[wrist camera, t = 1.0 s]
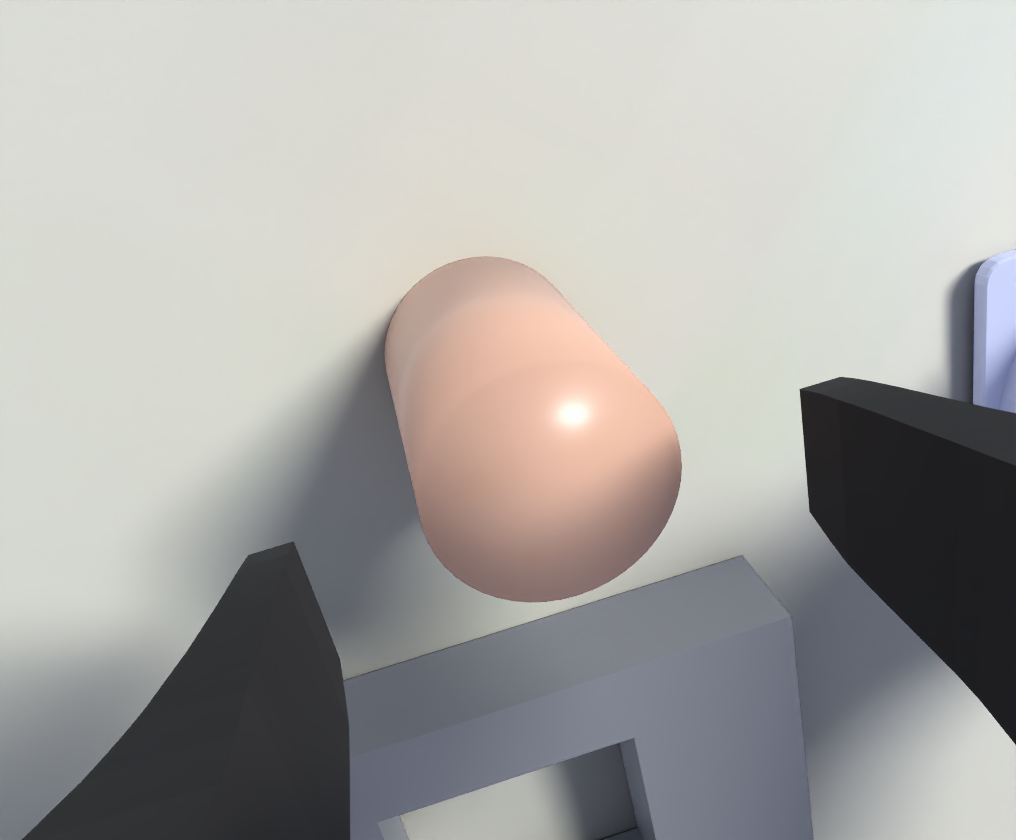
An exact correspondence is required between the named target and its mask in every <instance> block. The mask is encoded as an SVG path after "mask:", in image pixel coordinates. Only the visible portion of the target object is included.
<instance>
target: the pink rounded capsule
mask: <svg viewBox="0 0 1016 840" xmlns="http://www.w3.org/2000/svg"><path fill="white" fill-rule="evenodd" d="M384 356H385V367H386V372H387V376H388V381H389V385H390V389H391V394H392V398H393V403H394V407H395V411H396V416H397V420H398V425H399V429H400V433H401V438H402V442H403V447H404V451H405V455H406V460H407V464H408V469H409V473H410V477H411V482H412V486H413V491H414V495H415V499H416V504H417V508H418V513H419V517H420V521H421V526H422V529H423V532H424V534H425V537H426V539H427V542H428V544H429V545H430V547H431V549H432V550H433V552H434V554H435V555H436V557H437V558H438V559H439V560H440V562H441V563H442V564H443V565H444V566H445V567H446V568H447V569H448V570H449V571H450V572H451V573H452V574H453V575H454V576H455V577H457V578H458V579H460V580H461V581H462V582H464V583H465V584H467V585H468V586H470V587H472V588H474V589H476V590H478V591H480V592H482V593H485V594H488V595H491V596H494V597H497V598H501V599H506V600H511V601H520V602H547V601H554V600H561V599H565V598H569V597H573V596H577V595H580V594H583V593H585V592H588V591H591V590H593V589H595V588H597V587H599V586H601V585H603V584H605V583H607V582H609V581H611V580H612V579H614V578H615V577H617V576H619V575H620V574H622V573H623V572H624V571H626V570H627V569H628V568H629V567H631V566H632V565H633V564H634V563H635V562H636V561H638V560H639V559H640V558H641V557H642V556H643V555H644V554H645V553H646V552H647V550H648V549H649V548H650V547H651V546H652V544H653V543H654V542H655V541H656V539H657V538H658V536H659V535H660V533H661V532H662V530H663V529H664V527H665V525H666V524H667V521H668V519H669V517H670V515H671V513H672V511H673V508H674V505H675V502H676V499H677V496H678V492H679V487H680V482H681V469H682V463H681V450H680V446H679V441H678V437H677V434H676V431H675V429H674V426H673V424H672V421H671V419H670V418H669V416H668V414H667V413H666V411H665V409H664V408H663V406H662V405H661V404H660V403H659V401H658V400H657V399H656V398H655V397H654V395H653V394H652V393H651V392H650V391H649V390H648V389H647V388H646V387H645V385H644V384H643V383H642V382H641V381H640V380H639V379H638V378H637V377H636V376H635V375H634V373H633V372H632V371H631V370H630V369H629V368H628V367H627V366H626V365H625V364H624V362H623V361H622V360H621V359H620V358H619V357H618V356H617V355H616V354H615V353H614V352H613V350H612V349H611V348H610V347H609V346H608V345H607V344H606V343H605V342H604V341H603V339H602V338H601V337H600V336H599V335H598V334H597V333H596V332H595V331H594V330H593V329H592V327H591V326H590V325H589V324H588V323H587V322H586V321H585V320H584V319H583V318H582V316H581V315H580V314H579V313H578V312H577V311H576V310H575V309H574V308H573V307H572V306H571V304H570V303H569V302H568V301H567V300H566V299H565V298H564V297H563V296H562V295H561V293H560V292H559V291H558V290H557V289H556V288H555V287H554V286H553V285H552V284H551V283H550V282H549V281H548V280H547V279H546V278H545V277H544V276H542V275H541V274H539V273H538V272H536V271H535V270H533V269H532V268H530V267H528V266H526V265H524V264H521V263H518V262H515V261H512V260H509V259H504V258H498V257H473V258H467V259H463V260H458V261H455V262H452V263H449V264H447V265H444V266H442V267H440V268H438V269H436V270H434V271H433V272H431V273H430V274H428V275H427V276H425V277H424V278H423V279H421V280H420V281H419V282H418V283H417V284H416V285H415V286H413V287H412V289H411V290H410V291H409V292H408V293H407V294H406V295H405V297H404V298H403V299H402V301H401V302H400V304H399V305H398V307H397V309H396V311H395V313H394V315H393V317H392V319H391V322H390V325H389V328H388V331H387V336H386V341H385V354H384Z"/></svg>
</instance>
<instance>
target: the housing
mask: <svg viewBox="0 0 1016 840" xmlns="http://www.w3.org/2000/svg"><path fill="white" fill-rule="evenodd" d="M343 683H344V690H345V697H346V704H347V712H348V720H349V739H350V840H409V839H408V836H407V834H406V831H405V829H404V826H403V824H402V821H401V819H400V816H399V815H402V814H405V813H408V812H411V811H414V810H417V809H420V808H423V807H426V806H429V805H432V804H435V803H438V802H441V801H444V800H447V799H450V798H453V797H456V796H459V795H462V794H465V793H468V792H471V791H474V790H477V789H480V788H483V787H486V786H489V785H492V784H495V783H499V782H502V781H505V780H508V779H511V778H514V777H517V776H520V775H523V774H526V773H529V772H532V771H535V770H538V769H541V768H544V767H547V766H550V765H553V764H556V763H559V762H562V761H565V760H568V759H571V758H574V757H577V756H580V755H583V754H586V753H589V752H592V751H596V750H599V749H602V748H605V747H608V746H611V745H614V744H617V743H619V746H620V750H621V754H622V759H623V763H624V768H625V772H626V777H627V781H628V786H629V790H630V795H631V799H632V803H633V808H634V812H635V817H636V821H637V826H638V828H635V829H632V830H629V831H626V832H623V833H620V834H617V835H615V836H612V837H609V838H606V839H603V840H813V830H812V819H811V809H810V799H809V789H808V779H807V769H806V758H805V748H804V738H803V728H802V718H801V708H800V698H799V687H798V677H797V667H796V657H795V647H794V637H793V626H792V616H791V615H790V614H789V612H788V611H787V610H786V609H785V608H784V606H783V605H782V604H781V603H780V601H779V600H778V599H777V598H776V596H775V595H774V594H773V593H772V591H771V590H770V589H769V588H768V586H767V585H766V584H765V583H764V582H763V580H762V579H761V578H760V577H759V575H758V574H757V573H756V572H755V570H754V569H753V568H752V567H751V565H750V564H749V563H748V562H747V561H746V559H745V558H744V557H743V556H739V557H736V558H733V559H730V560H726V561H723V562H720V563H717V564H714V565H711V566H707V567H704V568H701V569H698V570H695V571H691V572H688V573H685V574H682V575H679V576H676V577H672V578H669V579H666V580H663V581H660V582H656V583H653V584H650V585H647V586H644V587H641V588H637V589H634V590H631V591H628V592H625V593H621V594H618V595H615V596H612V597H609V598H606V599H602V600H599V601H596V602H593V603H590V604H587V605H583V606H580V607H577V608H574V609H571V610H567V611H564V612H561V613H558V614H555V615H552V616H548V617H545V618H542V619H539V620H536V621H532V622H529V623H526V624H523V625H520V626H517V627H513V628H510V629H507V630H504V631H501V632H497V633H494V634H491V635H488V636H485V637H482V638H478V639H475V640H472V641H469V642H466V643H462V644H459V645H456V646H453V647H450V648H447V649H443V650H440V651H437V652H434V653H431V654H427V655H424V656H421V657H418V658H415V659H412V660H408V661H405V662H402V663H399V664H396V665H392V666H389V667H386V668H383V669H380V670H377V671H373V672H370V673H367V674H364V675H361V676H358V677H354V678H351V679H348V680H345V681H343Z"/></svg>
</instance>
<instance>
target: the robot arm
mask: <svg viewBox="0 0 1016 840" xmlns="http://www.w3.org/2000/svg"><path fill="white" fill-rule="evenodd" d="M800 398H801V410H802V423H803V435H804V448H805V460H806V472H807V485H808V497H809V509H810V513H811V514H812V516H813V517H814V518H815V520H816V521H817V523H818V524H819V526H820V527H821V528H822V530H823V531H824V533H825V534H826V536H827V537H828V538H829V540H830V541H831V542H832V544H833V545H834V546H835V548H836V549H837V550H838V552H839V553H840V554H841V556H842V557H843V558H844V560H845V561H846V562H847V564H848V565H849V566H850V567H851V568H852V569H853V570H854V571H855V572H856V573H857V574H858V575H859V576H860V577H861V578H862V579H863V580H864V582H865V583H866V584H867V585H868V586H869V587H870V588H871V589H872V590H873V591H874V592H875V593H876V594H877V595H878V596H879V597H880V598H881V599H882V600H883V601H884V602H885V603H886V604H887V605H888V606H889V607H890V608H891V609H892V610H893V611H894V612H895V613H896V614H897V615H898V616H899V617H900V618H901V619H902V620H903V621H904V622H905V623H906V624H907V625H908V626H909V627H910V628H911V629H912V630H913V631H914V632H915V633H916V634H917V635H918V636H919V637H920V638H921V639H922V640H923V641H924V642H925V643H926V644H927V645H928V646H929V647H930V648H931V649H932V650H933V651H934V652H935V653H936V654H937V655H938V656H939V657H940V658H941V659H942V660H943V661H944V662H945V663H946V664H947V665H948V666H949V667H950V668H951V669H952V670H953V671H954V672H955V673H956V674H957V675H958V677H959V678H960V679H961V680H962V681H963V682H964V683H965V684H966V685H967V686H968V688H969V689H970V690H971V691H972V692H973V693H974V694H975V695H976V696H977V697H978V699H979V700H980V701H981V702H982V703H983V704H984V706H985V707H986V708H987V709H988V711H989V712H990V713H991V714H992V716H993V717H994V718H995V719H996V721H997V722H998V723H999V724H1000V726H1001V727H1002V728H1003V729H1004V731H1005V732H1006V733H1007V734H1008V736H1009V737H1010V738H1011V739H1012V741H1013V742H1014V743H1015V744H1016V249H1014V250H1011V251H1007V252H1004V253H1001V254H997V255H995V256H993V257H990V258H988V259H987V260H986V261H985V262H984V263H983V264H982V265H981V266H980V268H979V270H978V272H977V274H976V278H975V298H974V372H973V404H970V403H966V402H961V401H957V400H952V399H948V398H944V397H939V396H935V395H931V394H926V393H922V392H918V391H913V390H909V389H905V388H900V387H896V386H891V385H886V384H882V383H877V382H872V381H866V380H861V379H854V378H845V377H839V378H835V379H832V380H829V381H825V382H822V383H819V384H815V385H812V386H809V387H805V388H802V389H800ZM22 840H350V739H349V720H348V712H347V704H346V697H345V690H344V683H343V677H342V670H341V663H340V658H339V656H338V653H337V651H336V648H335V646H334V643H333V641H332V638H331V636H330V633H329V630H328V628H327V625H326V623H325V620H324V618H323V615H322V613H321V610H320V608H319V605H318V602H317V600H316V597H315V595H314V592H313V590H312V587H311V585H310V582H309V579H308V577H307V574H306V572H305V569H304V567H303V564H302V562H301V559H300V557H299V554H298V551H297V549H296V546H295V544H294V542H291V543H287V544H284V545H281V546H277V547H274V548H271V549H267V550H264V551H261V552H258V553H254V554H251V555H248V557H247V558H246V560H245V561H244V562H243V564H242V566H241V567H240V569H239V570H238V572H237V573H236V575H235V577H234V578H233V580H232V582H231V583H230V585H229V586H228V588H227V590H226V591H225V593H224V595H223V596H222V598H221V599H220V601H219V603H218V604H217V606H216V607H215V609H214V611H213V612H212V614H211V615H210V617H209V618H208V620H207V621H206V623H205V625H204V626H203V628H202V629H201V631H200V632H199V634H198V635H197V637H196V638H195V640H194V642H193V643H192V645H191V646H190V648H189V649H188V651H187V652H186V653H185V655H184V656H183V658H182V659H181V660H180V662H179V663H178V664H177V666H176V667H175V669H174V670H173V671H172V673H171V674H170V675H169V677H168V678H167V680H166V681H165V682H164V684H163V685H162V686H161V688H160V689H159V690H158V692H157V693H156V695H155V696H154V697H153V699H152V700H151V701H150V703H149V704H148V706H147V707H146V708H145V709H144V711H143V712H142V713H141V714H140V716H139V717H138V718H137V719H136V721H135V722H134V723H133V724H132V725H131V727H130V728H129V729H128V730H127V731H126V733H125V734H124V735H123V736H122V737H121V739H120V740H119V741H118V742H117V743H116V744H115V745H114V746H113V748H112V749H111V750H110V751H109V752H108V753H107V754H106V755H105V757H104V758H103V759H102V760H101V761H100V762H99V763H98V764H97V765H96V767H95V768H94V769H93V770H92V771H91V772H90V773H89V774H88V775H87V776H86V777H85V778H84V779H83V781H82V782H81V783H80V784H79V785H78V786H77V787H76V788H74V789H73V790H72V791H71V792H70V793H69V794H68V795H67V796H66V797H65V798H64V799H63V800H62V801H61V802H60V803H59V804H58V805H57V806H56V807H55V808H54V809H53V810H52V811H51V812H50V813H49V814H48V815H47V816H46V817H45V818H44V819H43V820H42V821H41V822H40V823H39V824H38V825H37V826H36V827H35V828H34V829H32V830H31V831H30V832H29V833H28V834H27V835H26V836H25V837H24V838H23V839H22Z"/></svg>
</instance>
